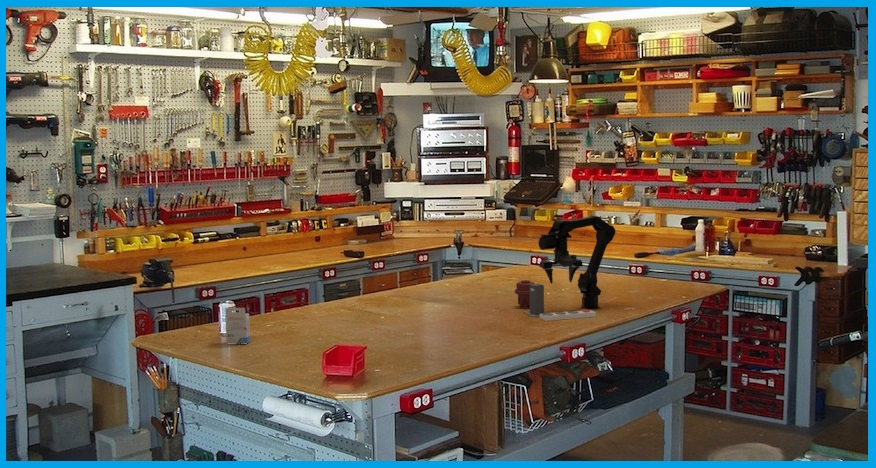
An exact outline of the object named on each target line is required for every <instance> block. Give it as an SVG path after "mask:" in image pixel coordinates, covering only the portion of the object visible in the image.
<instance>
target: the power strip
mask: <svg viewBox="0 0 876 468" xmlns="http://www.w3.org/2000/svg"><path fill="white" fill-rule="evenodd" d="M574 318H575V319H583V318H587V319H588V318H597V312H596V311H594V310H592V309H586V308H582V309H581V310H571V311H558V312H557V311H556V312H544V313H543V314H540V316H539V319H540V320H542V319H543V321H545V322H546V321H547V322H548V321H559V320H573V319H574Z"/></svg>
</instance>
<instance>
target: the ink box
mask: <svg viewBox="0 0 876 468" xmlns="http://www.w3.org/2000/svg"><path fill="white" fill-rule="evenodd" d="M235 311H237V312H235ZM224 318H225V337H226V338H225V339H226V341H225V342H226V344H227V343H247V342H249V341H250V342H251V330H250V329H251V327H250V323H251V322H250V313H246V307H225V317H224ZM250 342H249V343H250Z"/></svg>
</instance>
